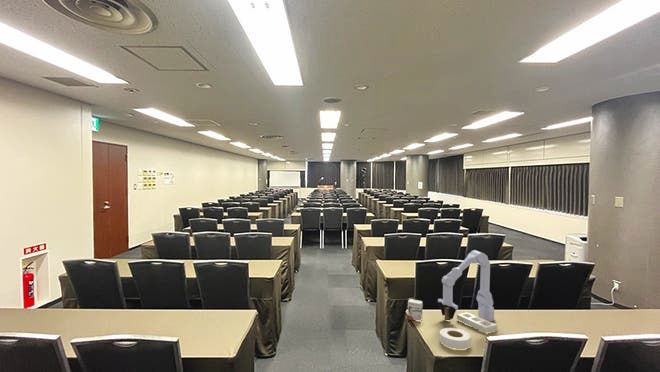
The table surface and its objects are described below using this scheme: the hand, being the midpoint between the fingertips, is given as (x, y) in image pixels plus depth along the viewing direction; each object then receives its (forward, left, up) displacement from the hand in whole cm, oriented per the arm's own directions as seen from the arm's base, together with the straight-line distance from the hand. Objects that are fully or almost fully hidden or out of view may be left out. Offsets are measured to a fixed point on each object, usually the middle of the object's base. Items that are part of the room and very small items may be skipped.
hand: (447, 316), depth 205 cm
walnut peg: (0, 0, -3) cm, 3 cm away
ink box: (+17, -11, -3) cm, 20 cm away
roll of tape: (+19, +23, -3) cm, 30 cm away
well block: (-10, +13, -3) cm, 17 cm away
